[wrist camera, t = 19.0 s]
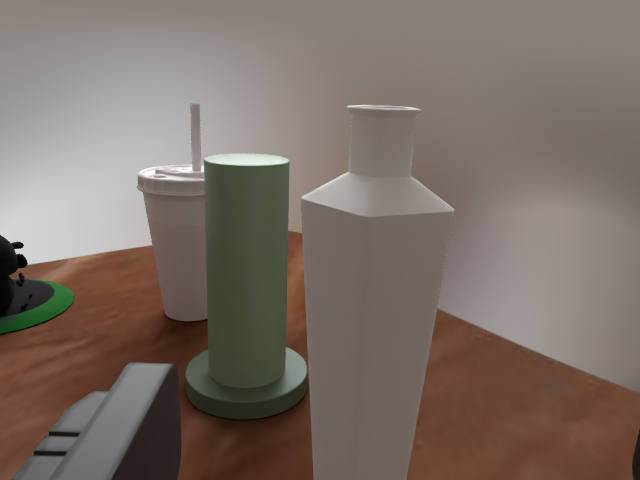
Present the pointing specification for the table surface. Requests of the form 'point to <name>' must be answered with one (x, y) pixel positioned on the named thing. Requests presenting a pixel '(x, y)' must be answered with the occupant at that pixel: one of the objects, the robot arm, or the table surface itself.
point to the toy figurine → (26, 293)
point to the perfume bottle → (371, 299)
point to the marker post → (246, 292)
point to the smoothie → (179, 230)
